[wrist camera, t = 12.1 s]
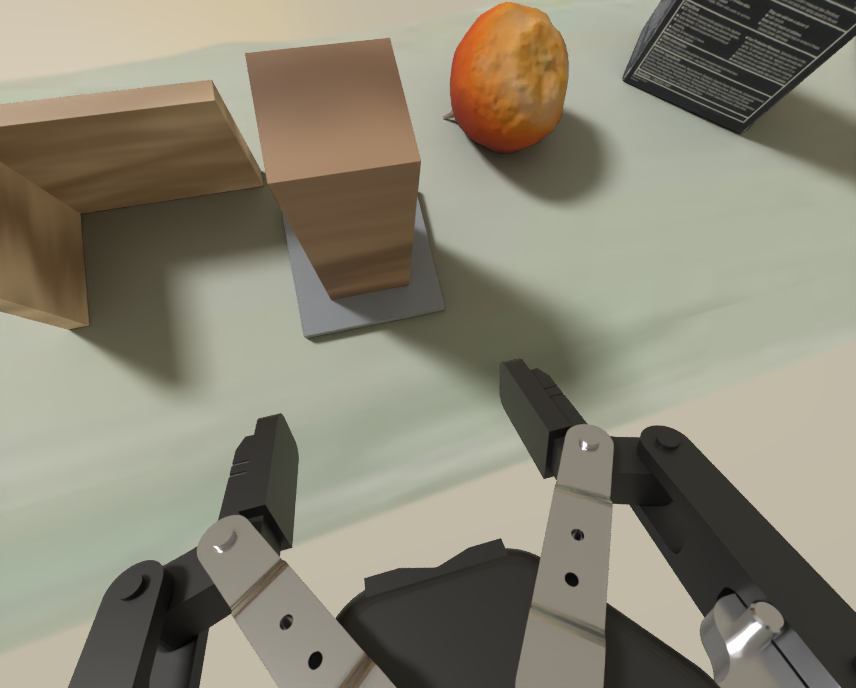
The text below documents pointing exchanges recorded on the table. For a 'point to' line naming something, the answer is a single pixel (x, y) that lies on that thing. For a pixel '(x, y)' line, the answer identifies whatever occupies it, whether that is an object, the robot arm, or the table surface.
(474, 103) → the fruit
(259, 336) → the table surface
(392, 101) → the plate
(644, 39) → the small box
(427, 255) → the mat
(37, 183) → the shelf end
